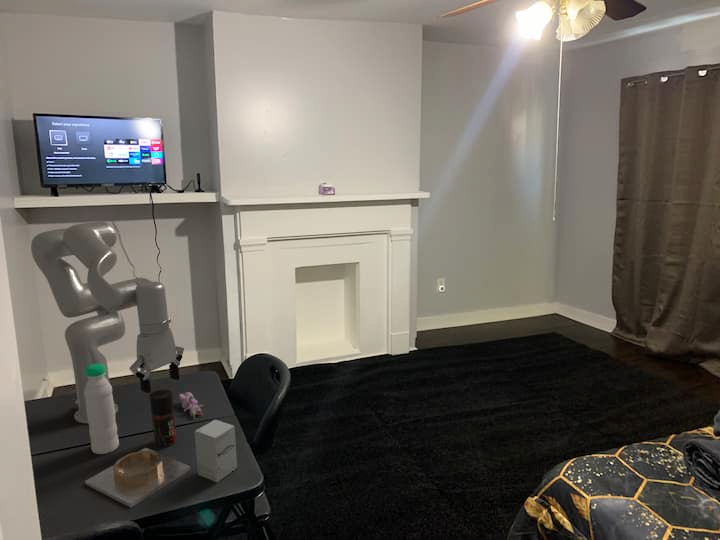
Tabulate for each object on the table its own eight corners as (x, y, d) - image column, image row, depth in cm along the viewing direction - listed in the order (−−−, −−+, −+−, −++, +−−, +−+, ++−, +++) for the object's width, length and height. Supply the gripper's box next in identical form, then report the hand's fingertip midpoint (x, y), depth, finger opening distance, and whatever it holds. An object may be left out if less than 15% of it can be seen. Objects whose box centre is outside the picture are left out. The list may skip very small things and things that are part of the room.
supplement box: (217, 483, 138) (213, 438, 135) (197, 474, 142) (193, 430, 139) (238, 469, 144) (235, 425, 141) (218, 461, 148) (214, 418, 145)
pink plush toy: (208, 419, 174) (192, 395, 185) (207, 403, 171) (192, 380, 183) (188, 425, 170) (173, 400, 181) (188, 409, 168) (173, 384, 179)
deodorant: (169, 448, 154) (164, 399, 151) (150, 446, 156) (145, 397, 152) (180, 437, 160) (176, 390, 157) (162, 435, 161) (157, 388, 158)
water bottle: (86, 452, 153) (74, 369, 147) (105, 440, 159) (95, 359, 154) (105, 457, 150) (94, 372, 145) (124, 444, 157) (114, 362, 151)
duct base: (85, 484, 138) (83, 470, 137) (146, 450, 153) (144, 437, 152) (130, 507, 129) (129, 492, 128) (190, 469, 144) (189, 456, 143)
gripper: (170, 316, 159) (176, 371, 163) (117, 334, 145) (125, 394, 148) (188, 320, 155) (194, 376, 159) (135, 338, 141) (143, 400, 144)
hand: (161, 385), depth 154 cm, fingers open, 9 cm apart
